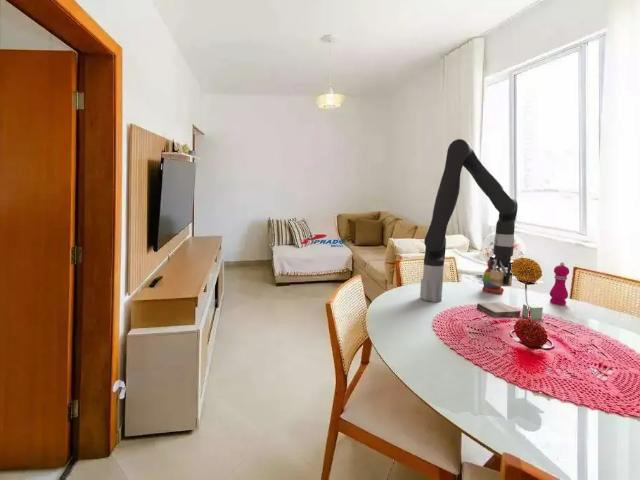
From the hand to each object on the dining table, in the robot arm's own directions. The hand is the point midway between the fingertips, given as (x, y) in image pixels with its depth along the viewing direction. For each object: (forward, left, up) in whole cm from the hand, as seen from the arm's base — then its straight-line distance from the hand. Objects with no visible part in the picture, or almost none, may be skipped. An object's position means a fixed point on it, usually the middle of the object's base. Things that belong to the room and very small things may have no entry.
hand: (500, 282), depth 151 cm
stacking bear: (+19, +30, -13) cm, 38 cm away
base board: (0, 0, -13) cm, 13 cm away
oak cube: (0, 0, -1) cm, 1 cm away
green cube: (+10, -8, -13) cm, 18 cm away
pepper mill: (+37, +7, -13) cm, 40 cm away
